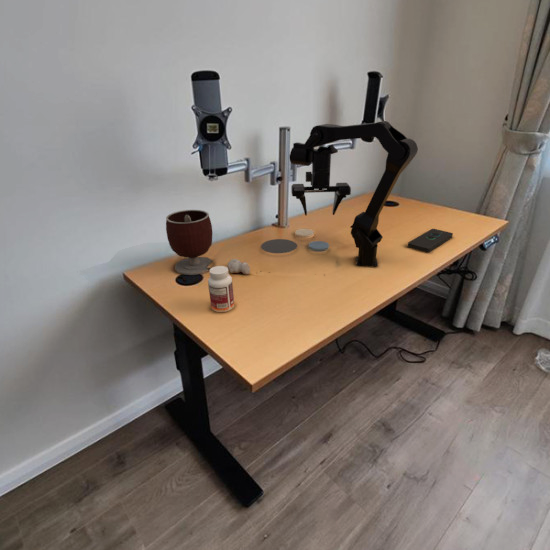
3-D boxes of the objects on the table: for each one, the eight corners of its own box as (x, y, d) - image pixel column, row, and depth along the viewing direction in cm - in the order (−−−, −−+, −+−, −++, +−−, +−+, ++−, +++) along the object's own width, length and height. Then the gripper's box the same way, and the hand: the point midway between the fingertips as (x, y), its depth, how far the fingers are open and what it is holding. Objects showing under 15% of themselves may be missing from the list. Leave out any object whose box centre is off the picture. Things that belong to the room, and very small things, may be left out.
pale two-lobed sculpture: (226, 274, 117) (237, 264, 119) (242, 281, 112) (253, 271, 114) (221, 263, 114) (233, 254, 117) (237, 270, 109) (249, 260, 112)
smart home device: (454, 232, 136) (429, 248, 124) (453, 237, 137) (428, 253, 125) (432, 227, 141) (406, 242, 129) (431, 232, 142) (406, 246, 130)
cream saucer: (313, 241, 137) (313, 235, 136) (294, 240, 138) (294, 235, 137) (314, 234, 143) (314, 229, 142) (296, 233, 144) (296, 228, 143)
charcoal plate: (295, 257, 124) (295, 254, 124) (257, 255, 126) (257, 252, 126) (299, 242, 136) (299, 239, 135) (264, 241, 138) (264, 238, 137)
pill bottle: (224, 298, 101) (220, 262, 96) (239, 306, 98) (236, 268, 92) (206, 307, 97) (201, 270, 92) (221, 315, 94) (217, 277, 88)
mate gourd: (173, 260, 125) (163, 202, 115) (214, 255, 127) (207, 198, 118) (172, 281, 111) (161, 217, 102) (218, 275, 114) (211, 212, 105)
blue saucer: (328, 255, 125) (328, 249, 124) (307, 254, 126) (307, 248, 125) (329, 247, 132) (329, 241, 130) (309, 246, 133) (309, 240, 132)
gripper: (346, 161, 123) (343, 207, 130) (290, 163, 123) (290, 208, 130) (352, 168, 113) (349, 217, 120) (292, 170, 113) (292, 218, 120)
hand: (319, 214), depth 123 cm, fingers open, 9 cm apart
